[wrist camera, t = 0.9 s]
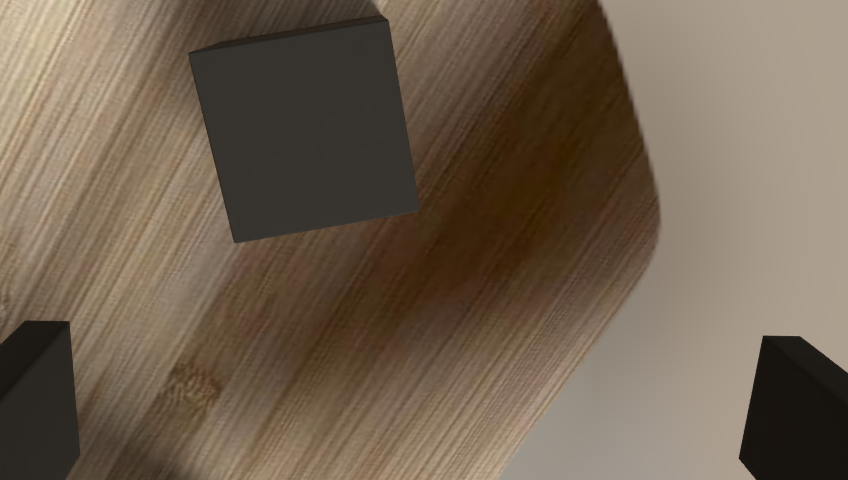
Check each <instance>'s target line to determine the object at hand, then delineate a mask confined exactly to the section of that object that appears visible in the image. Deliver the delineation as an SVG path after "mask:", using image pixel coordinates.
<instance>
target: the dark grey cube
mask: <svg viewBox="0 0 848 480" xmlns="http://www.w3.org/2000/svg"><path fill="white" fill-rule="evenodd" d="M188 56H189V60H190V64H191V68H192V72H193V76H194V80H195V84H196V89H197V93H198V97H199V101H200V105H201V109H202V113H203V117H204V121H205V125H206V129H207V134H208V138H209V142H210V146H211V150H212V154H213V158H214V162H215V166H216V170H217V174H218V179H219V183H220V187H221V191H222V195H223V199H224V203H225V207H226V211H227V215H228V219H229V224H230V228H231V232H232V236H233V240H234V243H241V242H247V241H253V240H258V239H264V238H270V237H276V236H281V235H287V234H293V233H298V232H304V231H310V230H316V229H321V228H327V227H333V226H338V225H344V224H350V223H356V222H361V221H367V220H373V219H378V218H384V217H390V216H396V215H401V214H407V213H413V212H418V211H420V207H419V201H418V195H417V189H416V183H415V177H414V171H413V165H412V159H411V153H410V147H409V141H408V135H407V129H406V123H405V117H404V111H403V105H402V99H401V93H400V87H399V81H398V75H397V69H396V63H395V57H394V51H393V45H392V39H391V33H390V27H389V21H388V20H387V19H386V18H385V17H383V16H382V15H379V16H373V17H367V18H361V19H355V20H349V21H343V22H337V23H331V24H325V25H319V26H313V27H307V28H301V29H295V30H289V31H283V32H277V33H271V34H265V35H259V36H253V37H247V38H241V39H235V40H229V41H223V42H220V43H217V44H214V45H211V46H208V47H205V48H202V49H199V50H196V51H193V52H190V53H188Z"/></svg>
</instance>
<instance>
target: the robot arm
mask: <svg viewBox="0 0 848 480" xmlns="http://www.w3.org/2000/svg"><path fill="white" fill-rule="evenodd" d="M79 456H80V448H79V435H78V423H77V410H76V398H75V385H74V373H73V360H72V348H71V335H70V323H69V321H24V322H23V323H22V324H21V325H20V326H19V327H18V328H17V329H16V330H15V331H14V332H13V333H12V334H11V335H10V336H9V337H8V338H7V339H6V340H5V341H4V342H3V343H2V344H1V345H0V480H65V479H66V477H67V476H68V474H69V472H70V471H71V469H72V468H73V466H74V464H75V463H76V461H77V459H78V458H79ZM739 459H740V460H741V462H742V463H743V464H744V465H745V467H746V468H747V469H748V470H749V472H750V473H751V474H752V475H753V476H754V477H755V479H756V480H848V373H847V372H846V371H844V370H843V369H842V368H841V367H839V366H838V365H837V364H835V363H834V362H833V361H831V360H830V359H829V358H828V357H826V356H825V355H824V354H822V353H821V352H820V351H818V350H817V349H816V348H815V347H813V346H812V345H811V344H809V343H808V342H807V341H805V340H804V339H803V338H802V337H800V336H763V339H762V343H761V348H760V354H759V359H758V364H757V369H756V374H755V379H754V384H753V389H752V395H751V399H750V404H749V409H748V414H747V420H746V424H745V429H744V434H743V440H742V444H741V450H740V455H739Z"/></svg>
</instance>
